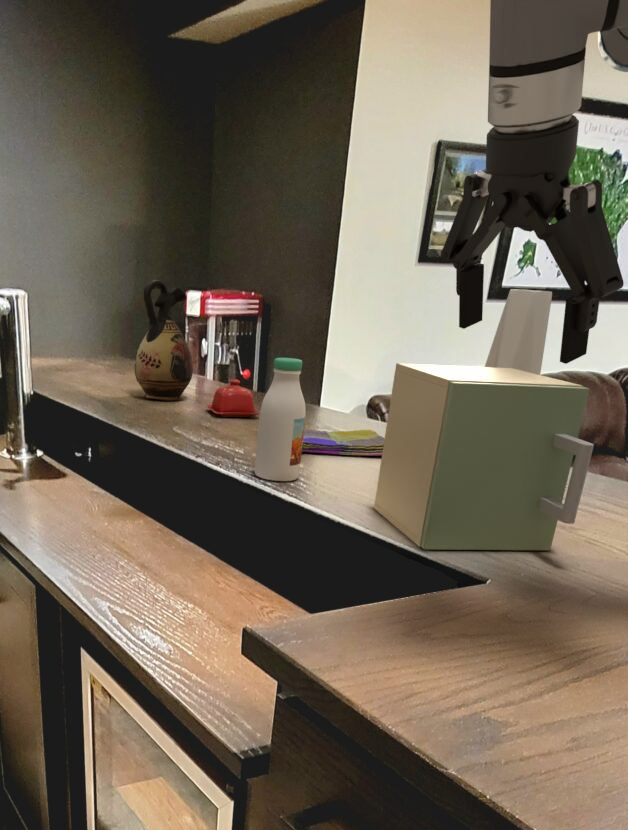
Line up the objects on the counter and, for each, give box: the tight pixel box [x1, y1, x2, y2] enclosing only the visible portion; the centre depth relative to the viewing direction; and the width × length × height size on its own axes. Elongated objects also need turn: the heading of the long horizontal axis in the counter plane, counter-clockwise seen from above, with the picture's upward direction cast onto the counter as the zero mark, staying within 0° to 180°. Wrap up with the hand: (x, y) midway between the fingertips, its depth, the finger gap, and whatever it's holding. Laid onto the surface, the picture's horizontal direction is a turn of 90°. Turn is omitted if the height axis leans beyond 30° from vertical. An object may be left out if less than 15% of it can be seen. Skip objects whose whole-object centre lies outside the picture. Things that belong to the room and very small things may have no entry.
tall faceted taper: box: [484, 288, 553, 375], centre depth 129 cm, size 12×12×33 cm
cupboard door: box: [420, 382, 595, 551], centre depth 90 cm, size 7×18×22 cm, turn 97°
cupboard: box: [373, 362, 584, 548], centre depth 101 cm, size 16×18×22 cm
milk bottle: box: [253, 357, 307, 482], centre depth 122 cm, size 8×8×20 cm
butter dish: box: [205, 378, 260, 418], centre depth 175 cm, size 12×12×8 cm
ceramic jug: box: [134, 279, 194, 401], centre depth 188 cm, size 17×15×30 cm
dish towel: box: [302, 428, 385, 457], centre depth 149 cm, size 18×24×3 cm
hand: (518, 340), depth 77 cm, fingers open, 13 cm apart
